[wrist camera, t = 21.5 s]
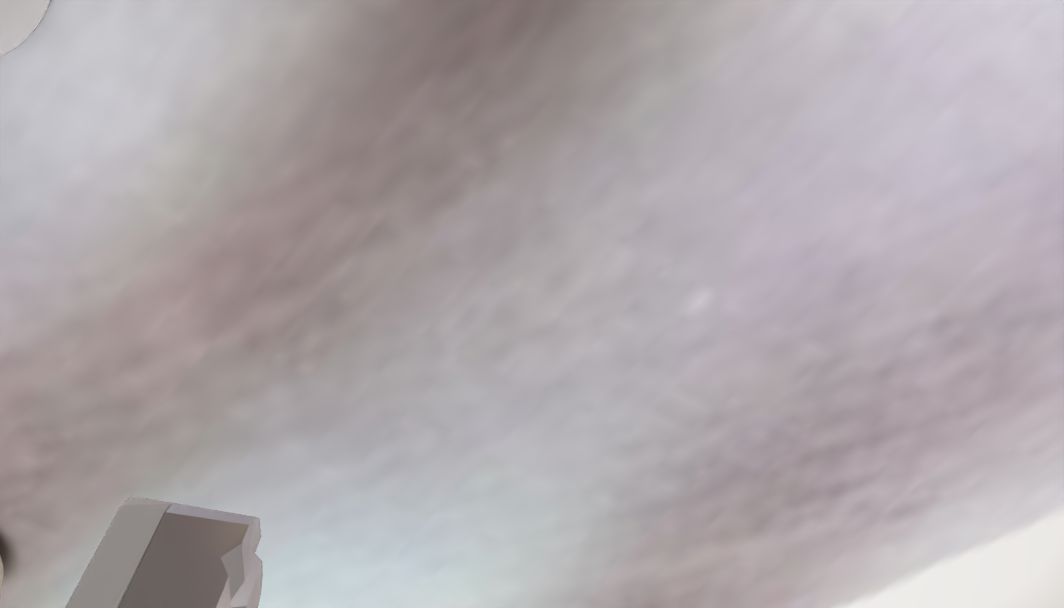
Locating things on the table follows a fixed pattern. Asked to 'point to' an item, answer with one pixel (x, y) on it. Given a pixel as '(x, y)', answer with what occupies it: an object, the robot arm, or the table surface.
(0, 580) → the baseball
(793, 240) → the table surface
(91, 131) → the table surface
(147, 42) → the table surface
